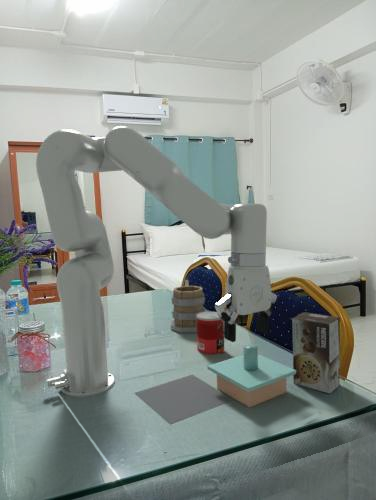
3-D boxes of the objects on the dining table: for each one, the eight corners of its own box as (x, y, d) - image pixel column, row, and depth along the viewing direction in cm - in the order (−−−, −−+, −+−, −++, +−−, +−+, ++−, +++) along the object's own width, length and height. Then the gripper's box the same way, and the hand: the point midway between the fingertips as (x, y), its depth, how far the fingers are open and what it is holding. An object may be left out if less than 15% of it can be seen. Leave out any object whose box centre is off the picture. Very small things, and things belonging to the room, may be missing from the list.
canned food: (222, 356, 110) (222, 319, 108) (195, 355, 111) (193, 318, 110) (225, 347, 117) (224, 311, 116) (199, 346, 119) (198, 311, 118)
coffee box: (340, 384, 91) (341, 317, 89) (329, 394, 86) (330, 323, 84) (304, 374, 97) (303, 311, 95) (291, 383, 92) (291, 317, 90)
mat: (170, 427, 75) (170, 424, 75) (134, 395, 89) (134, 392, 89) (233, 402, 84) (233, 399, 84) (192, 376, 97) (192, 374, 97)
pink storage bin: (249, 410, 81) (249, 387, 80) (217, 390, 90) (216, 369, 89) (286, 394, 87) (286, 373, 86) (252, 377, 96) (252, 358, 95)
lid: (248, 392, 78) (248, 364, 77) (207, 369, 90) (206, 344, 89) (296, 373, 86) (296, 348, 85) (252, 354, 97) (252, 332, 97)
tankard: (207, 332, 131) (206, 289, 130) (170, 333, 132) (168, 290, 130) (206, 316, 151) (205, 278, 149) (173, 316, 151) (172, 279, 150)
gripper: (228, 265, 77) (227, 349, 79) (288, 259, 87) (286, 333, 89) (206, 261, 83) (205, 338, 85) (264, 255, 93) (262, 325, 95)
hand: (246, 335), depth 87 cm, fingers open, 9 cm apart
